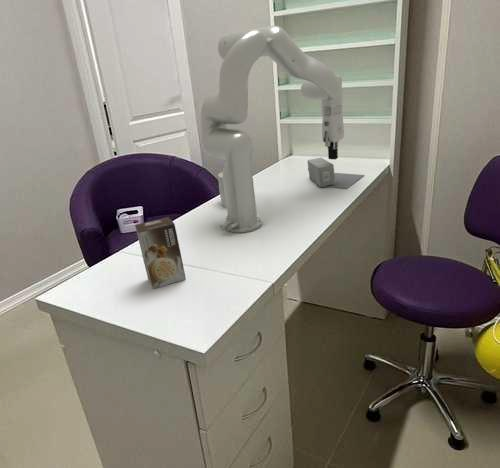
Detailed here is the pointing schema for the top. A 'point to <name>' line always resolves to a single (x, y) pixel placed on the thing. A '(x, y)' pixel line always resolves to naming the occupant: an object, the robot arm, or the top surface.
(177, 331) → the top surface
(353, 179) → the mat
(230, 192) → the robot arm
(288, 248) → the top surface
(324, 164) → the skincare box
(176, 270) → the coffee box
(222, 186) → the toilet paper roll
